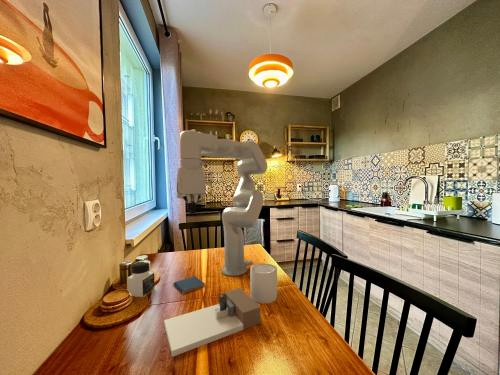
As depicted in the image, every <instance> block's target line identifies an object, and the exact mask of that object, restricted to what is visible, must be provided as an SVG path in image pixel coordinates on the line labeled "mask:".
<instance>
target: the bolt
mask: <svg viewBox="0 0 500 375" xmlns="http://www.w3.org/2000/svg"><path fill="white" fill-rule="evenodd" d="M218 304H219V308H217V309H214V316H215V317H216V319H218V318H221V317H224V316H227V315H229V307H228V306H227V295H226V294H225V293H222V294H219V295H218ZM234 314H235V306H234Z"/></svg>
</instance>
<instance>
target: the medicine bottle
mask: <svg viewBox="0 0 500 375" xmlns="http://www.w3.org/2000/svg"><path fill="white" fill-rule="evenodd" d="M131 269H132V271H131V272H132V274H131V275H130V276H128V277H127V278H126V286H127V288H126V291H129V292H130V293H131V295H132V296H131V297H133V296H134V297H136V298H144V297H146V296H147V295H148V294H150V293H151V292H152V291H154V290H155V287H156V286H155V272H154V271H150V262H149V261H146V260H140V261H137V262H134V263H133V264H132V268H131Z"/></svg>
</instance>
